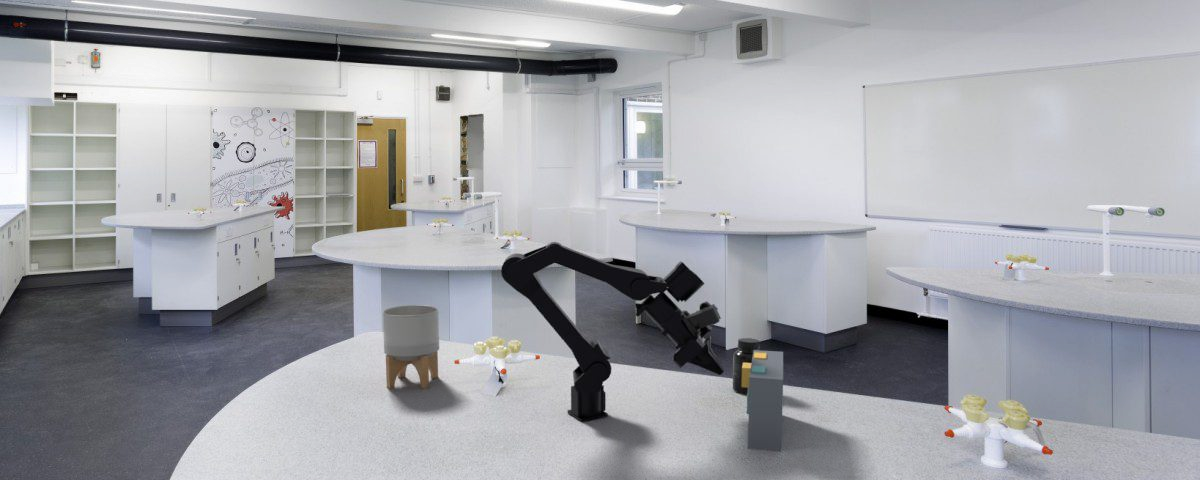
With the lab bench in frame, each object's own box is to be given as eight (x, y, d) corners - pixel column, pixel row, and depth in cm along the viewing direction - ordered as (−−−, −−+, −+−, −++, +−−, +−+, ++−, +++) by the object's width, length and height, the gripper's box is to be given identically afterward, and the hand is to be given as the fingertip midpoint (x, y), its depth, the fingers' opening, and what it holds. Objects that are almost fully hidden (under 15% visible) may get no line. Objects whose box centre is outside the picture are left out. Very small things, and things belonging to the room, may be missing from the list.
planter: (423, 371, 181) (421, 302, 180) (450, 382, 172) (448, 310, 170) (375, 381, 173) (373, 310, 171) (401, 394, 163) (398, 318, 161)
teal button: (746, 413, 133) (747, 393, 133) (747, 407, 137) (748, 386, 137) (766, 415, 132) (766, 394, 132) (766, 408, 136) (767, 388, 136)
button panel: (747, 448, 131) (749, 375, 130) (752, 412, 150) (753, 348, 149) (781, 451, 129) (783, 378, 128) (781, 414, 149) (783, 350, 147)
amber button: (741, 387, 143) (741, 367, 143) (742, 381, 147) (743, 362, 147) (759, 388, 142) (760, 368, 142) (760, 382, 146) (760, 363, 146)
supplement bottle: (762, 396, 161) (764, 344, 160) (732, 394, 162) (733, 343, 161) (762, 387, 168) (763, 337, 166) (732, 385, 169) (733, 336, 168)
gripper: (690, 300, 136) (748, 359, 134) (702, 284, 154) (753, 337, 152) (650, 337, 139) (706, 396, 137) (666, 318, 157) (716, 370, 155)
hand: (722, 373), depth 146 cm, fingers closed
